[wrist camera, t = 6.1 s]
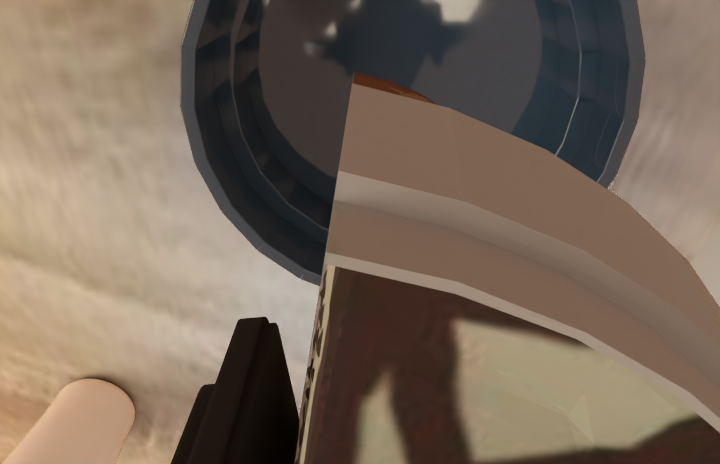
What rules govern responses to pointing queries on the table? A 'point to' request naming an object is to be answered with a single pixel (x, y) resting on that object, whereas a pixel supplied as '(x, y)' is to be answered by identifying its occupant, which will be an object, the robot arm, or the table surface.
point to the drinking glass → (79, 427)
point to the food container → (497, 307)
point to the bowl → (405, 67)
